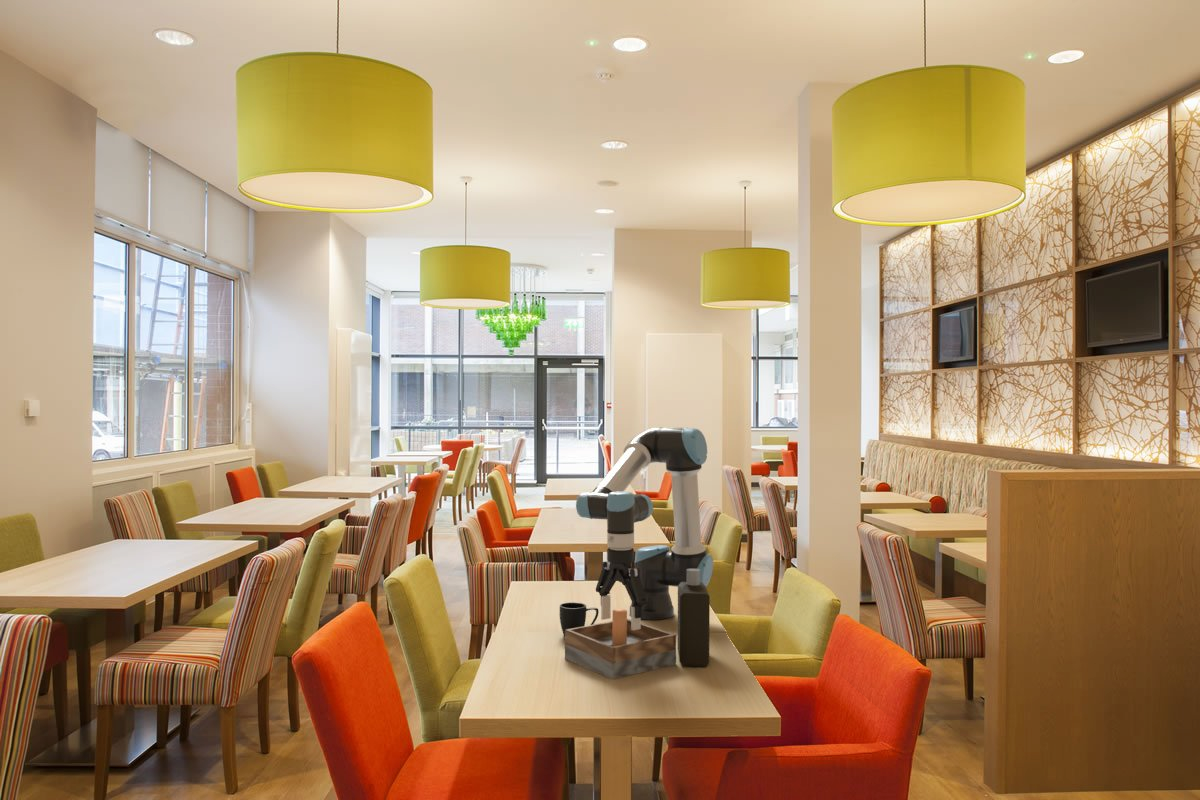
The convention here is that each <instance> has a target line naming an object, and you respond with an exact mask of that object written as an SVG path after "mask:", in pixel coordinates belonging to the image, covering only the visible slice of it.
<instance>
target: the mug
mask: <svg viewBox="0 0 1200 800" xmlns="http://www.w3.org/2000/svg"><path fill="white" fill-rule="evenodd" d="M592 610H593V611H595V615H594V618H593V620H592V622H591V623H590V625H593V624H595V622H596V621H597V619H598V617H599V612H600V611H599V608H598V607H587V604H585V603H582V602H573V601H572V602H570V601H569V602H565V603H561V604H559V622H560V627H561V631H562V634H563V638H565V630H566V629H572V628H577V627H582V626H586V620H587V612H588V611H592Z"/></svg>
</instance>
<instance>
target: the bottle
mask: <svg viewBox="0 0 1200 800" xmlns="http://www.w3.org/2000/svg"><path fill="white" fill-rule="evenodd" d="M710 602H711V601H710V595H709V592H708V589H707V586H705V585H704V584H703V583H702V582H700V569H691V568H690V569H687V582H681V583H680V584H679V585H678V587H677V653H678V659H679V663H680V664H681V666H682V667H683V668H684V667H685V668H707V666H708V665H709V664H710V616H711V615H710V614H711V613H710V612H711V611H710V605H711V603H710Z"/></svg>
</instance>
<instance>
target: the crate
mask: <svg viewBox="0 0 1200 800" xmlns="http://www.w3.org/2000/svg"><path fill="white" fill-rule="evenodd" d="M612 624H613V620H611V621H605V622H598V623H594V624H593V625H591V624H589V625H585V626H582V627H577V628H572V629H566V630H565V637H564V659H566V660H568V661H570V662H572V663H574V664H577V665H579V666H581V667H583V668H586V669H588V670H590V671H593V672H595V673H597V674H599V675H602V676H605V678H609V679H611V680H616V679H619V678H625V677H627V676H632V675H637V674H641V673H644V672H649V671H653V670H657V669H660V668H665V667H669V666H674V665H676V664H677V634H674V633H672V632H668V631H665V630H663V629H660V628H657V627H653V626H650V625H648V624H645V623H641V629H638V630H631V618H627V644H624V645H619V646H614V647H613V646H612Z"/></svg>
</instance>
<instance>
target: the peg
mask: <svg viewBox="0 0 1200 800" xmlns="http://www.w3.org/2000/svg"><path fill="white" fill-rule="evenodd" d="M627 619H628V610H627V609H624V608H615V609H612V621H613V624H612V646H613V647H614V646H619V645H624V644H627Z"/></svg>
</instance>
